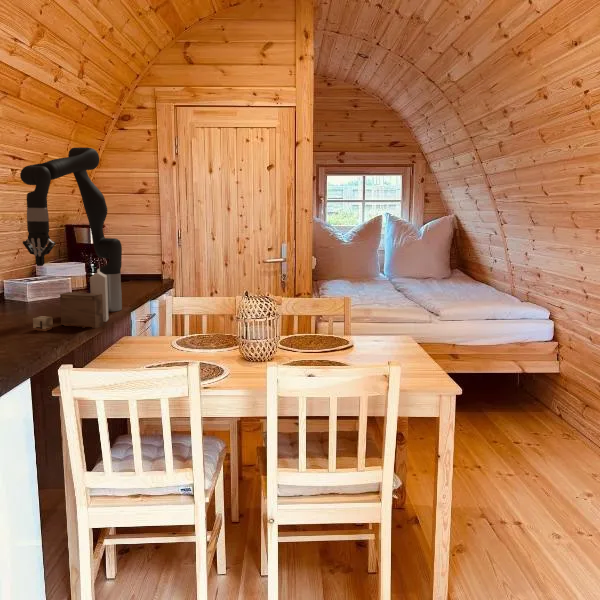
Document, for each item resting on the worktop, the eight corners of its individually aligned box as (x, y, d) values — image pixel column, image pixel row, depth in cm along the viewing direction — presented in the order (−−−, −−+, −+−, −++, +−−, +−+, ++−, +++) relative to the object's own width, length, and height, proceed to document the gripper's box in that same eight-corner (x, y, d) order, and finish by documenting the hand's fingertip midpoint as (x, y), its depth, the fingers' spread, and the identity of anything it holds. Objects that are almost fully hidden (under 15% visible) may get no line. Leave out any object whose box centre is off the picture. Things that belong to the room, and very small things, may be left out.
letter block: (41, 328, 233) (40, 316, 232) (53, 329, 232) (52, 316, 231) (33, 331, 228) (32, 318, 227) (44, 332, 227) (44, 319, 226)
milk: (108, 319, 254) (107, 268, 250) (106, 322, 248) (105, 269, 244) (93, 319, 253) (92, 267, 249) (91, 322, 247) (89, 269, 243)
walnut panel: (69, 323, 244) (68, 292, 242) (103, 325, 241) (102, 293, 239) (61, 326, 238) (59, 294, 236) (95, 328, 235) (94, 296, 233)
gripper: (59, 220, 226) (61, 265, 228) (28, 219, 228) (30, 264, 231) (47, 220, 218) (49, 267, 221) (15, 219, 221) (18, 266, 224)
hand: (40, 265), depth 226 cm, fingers closed
